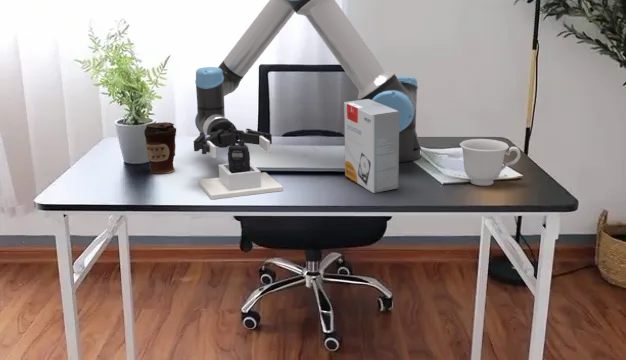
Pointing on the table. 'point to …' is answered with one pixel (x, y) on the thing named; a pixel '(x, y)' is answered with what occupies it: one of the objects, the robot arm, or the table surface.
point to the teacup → (485, 159)
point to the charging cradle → (239, 183)
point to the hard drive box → (371, 145)
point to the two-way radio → (238, 155)
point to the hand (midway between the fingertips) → (242, 149)
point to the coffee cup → (160, 146)
